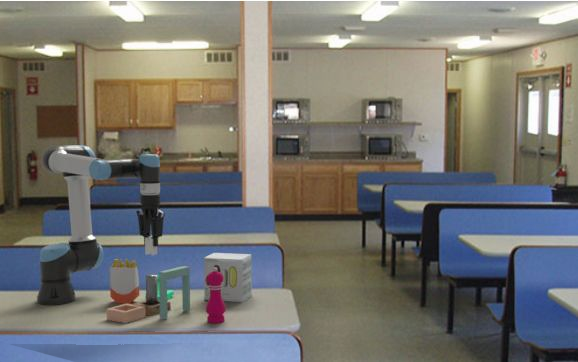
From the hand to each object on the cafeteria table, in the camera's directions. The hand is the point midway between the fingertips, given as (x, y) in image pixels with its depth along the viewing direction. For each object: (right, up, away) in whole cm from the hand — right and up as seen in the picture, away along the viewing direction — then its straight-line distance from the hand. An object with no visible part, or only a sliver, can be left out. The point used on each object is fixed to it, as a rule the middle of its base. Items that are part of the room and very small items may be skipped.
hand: (151, 254), depth 262 cm
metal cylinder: (0, -22, +1) cm, 22 cm away
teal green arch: (+10, -23, -5) cm, 25 cm away
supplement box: (+28, -21, +22) cm, 41 cm away
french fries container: (-14, -22, +16) cm, 31 cm away
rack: (-7, -23, -10) cm, 26 cm away
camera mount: (-1, -22, +21) cm, 30 cm away
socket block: (0, -22, +1) cm, 22 cm away
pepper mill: (+27, -23, -15) cm, 38 cm away
